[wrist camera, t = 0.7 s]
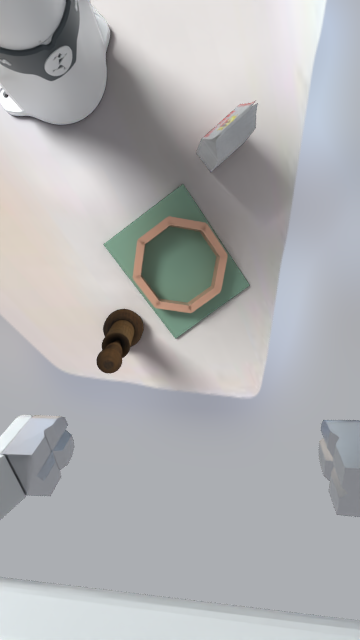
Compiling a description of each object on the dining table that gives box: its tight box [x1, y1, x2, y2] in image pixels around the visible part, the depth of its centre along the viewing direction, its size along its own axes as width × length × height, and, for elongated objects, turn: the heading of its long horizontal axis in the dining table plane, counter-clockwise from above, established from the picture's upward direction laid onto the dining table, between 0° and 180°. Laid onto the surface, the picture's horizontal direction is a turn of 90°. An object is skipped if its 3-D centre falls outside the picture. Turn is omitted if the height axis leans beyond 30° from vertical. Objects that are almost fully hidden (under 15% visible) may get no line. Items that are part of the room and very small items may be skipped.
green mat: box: [103, 184, 250, 339], centre depth 50 cm, size 20×16×1 cm
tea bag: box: [196, 101, 258, 172], centre depth 42 cm, size 4×7×10 cm, turn 130°
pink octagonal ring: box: [133, 216, 228, 313], centre depth 48 cm, size 14×14×3 cm
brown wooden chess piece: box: [97, 309, 143, 373], centre depth 44 cm, size 7×6×18 cm
